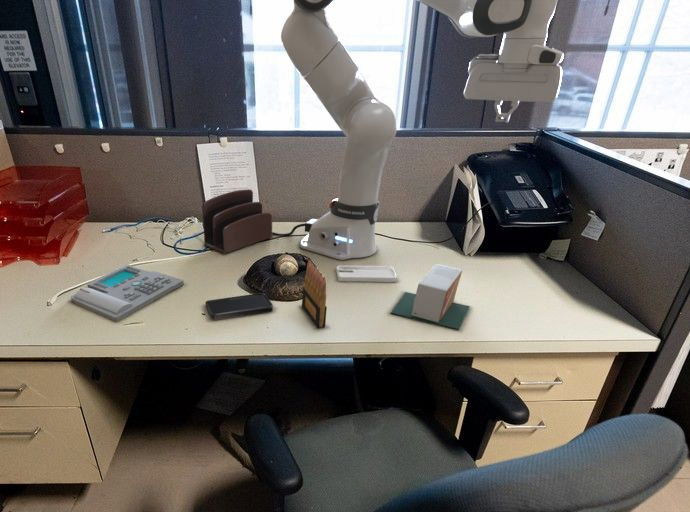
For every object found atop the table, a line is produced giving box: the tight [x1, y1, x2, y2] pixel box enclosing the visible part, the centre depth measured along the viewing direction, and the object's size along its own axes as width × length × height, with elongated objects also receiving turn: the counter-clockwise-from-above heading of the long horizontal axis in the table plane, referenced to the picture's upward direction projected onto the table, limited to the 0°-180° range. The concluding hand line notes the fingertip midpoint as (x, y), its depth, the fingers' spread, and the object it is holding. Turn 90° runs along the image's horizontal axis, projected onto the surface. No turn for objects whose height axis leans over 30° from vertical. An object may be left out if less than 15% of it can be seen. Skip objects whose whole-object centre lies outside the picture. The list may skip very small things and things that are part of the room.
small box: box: [411, 263, 463, 323], centre depth 108 cm, size 8×6×13 cm
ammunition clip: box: [301, 259, 328, 329], centre depth 105 cm, size 11×2×12 cm, turn 13°
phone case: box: [335, 264, 398, 283], centre depth 125 cm, size 7×1×15 cm
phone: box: [205, 292, 274, 321], centre depth 112 cm, size 8×1×15 cm
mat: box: [390, 291, 470, 331], centre depth 110 cm, size 15×12×1 cm
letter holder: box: [201, 188, 273, 255], centre depth 143 cm, size 10×20×14 cm, turn 132°
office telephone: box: [70, 264, 185, 323], centre depth 119 cm, size 23×3×20 cm
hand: (501, 121), depth 116 cm, fingers closed
